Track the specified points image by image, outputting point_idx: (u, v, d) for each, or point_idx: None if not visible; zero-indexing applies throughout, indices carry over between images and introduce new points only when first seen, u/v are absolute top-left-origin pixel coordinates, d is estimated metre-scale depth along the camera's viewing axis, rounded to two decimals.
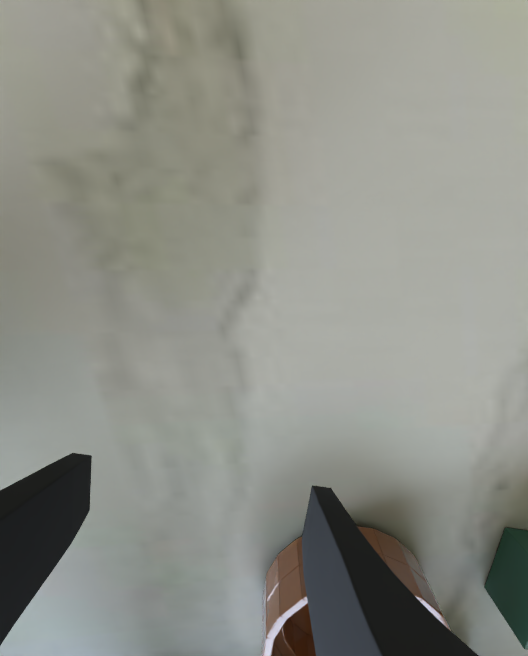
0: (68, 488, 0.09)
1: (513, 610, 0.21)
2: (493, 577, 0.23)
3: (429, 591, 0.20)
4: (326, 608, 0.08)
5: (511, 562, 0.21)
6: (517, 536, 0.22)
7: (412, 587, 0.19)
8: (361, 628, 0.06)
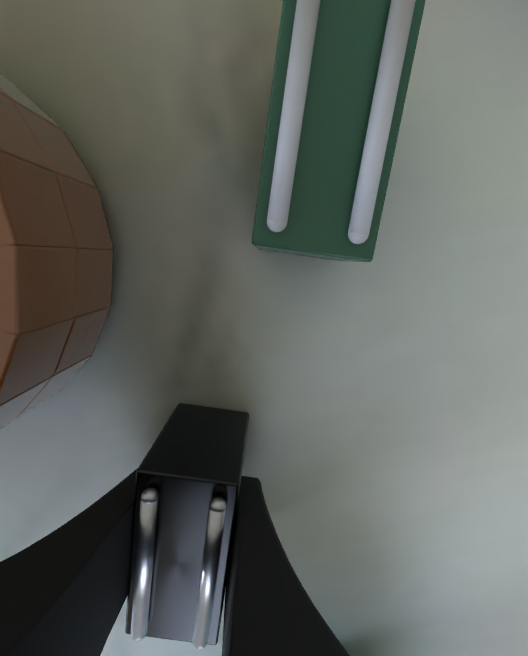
0: None
1: None
2: None
3: None
4: (229, 595, 0.08)
5: None
6: None
7: None
8: (231, 611, 0.06)
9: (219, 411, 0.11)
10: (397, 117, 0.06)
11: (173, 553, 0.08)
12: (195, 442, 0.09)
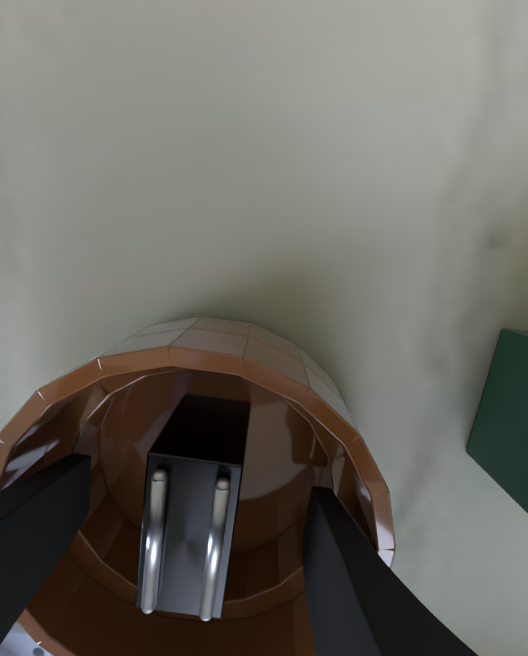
0: (68, 488, 0.09)
1: (518, 464, 0.10)
2: (481, 425, 0.12)
3: (341, 405, 0.09)
4: (326, 608, 0.08)
5: (514, 379, 0.11)
6: (525, 333, 0.11)
7: (292, 373, 0.08)
8: (361, 628, 0.06)
9: (223, 401, 0.12)
10: None
11: (181, 531, 0.09)
12: (201, 428, 0.10)
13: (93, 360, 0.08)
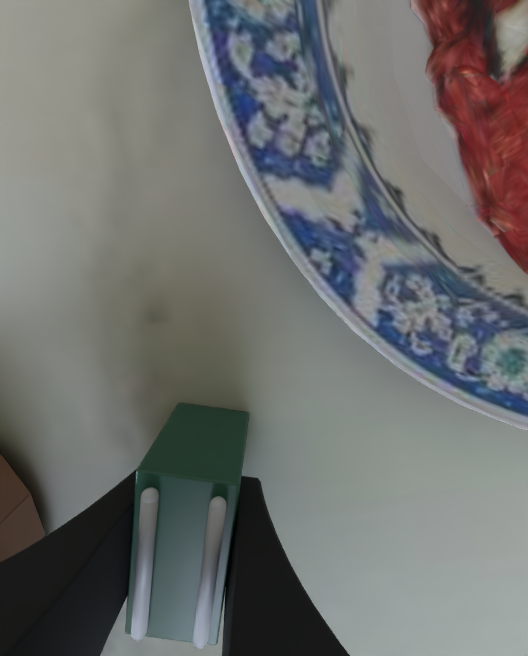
0: None
1: None
2: None
3: None
4: (229, 595, 0.08)
5: None
6: (181, 412, 0.11)
7: None
8: (231, 611, 0.06)
9: None
10: (225, 563, 0.08)
11: None
12: None
13: None
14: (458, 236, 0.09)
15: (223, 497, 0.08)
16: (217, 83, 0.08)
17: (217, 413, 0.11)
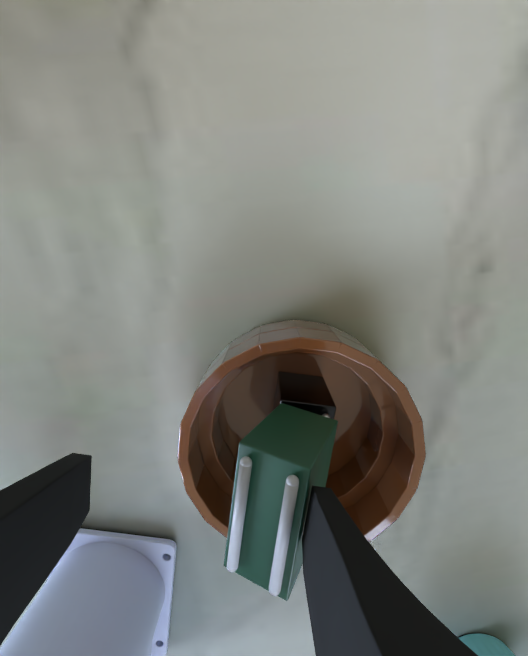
0: (68, 488, 0.09)
1: None
2: None
3: None
4: (326, 608, 0.08)
5: None
6: (280, 410, 0.14)
7: (366, 352, 0.14)
8: (361, 628, 0.06)
9: (305, 375, 0.18)
10: (297, 532, 0.11)
11: None
12: (302, 389, 0.16)
13: (256, 345, 0.14)
14: None
15: (297, 477, 0.10)
16: None
17: (310, 416, 0.13)
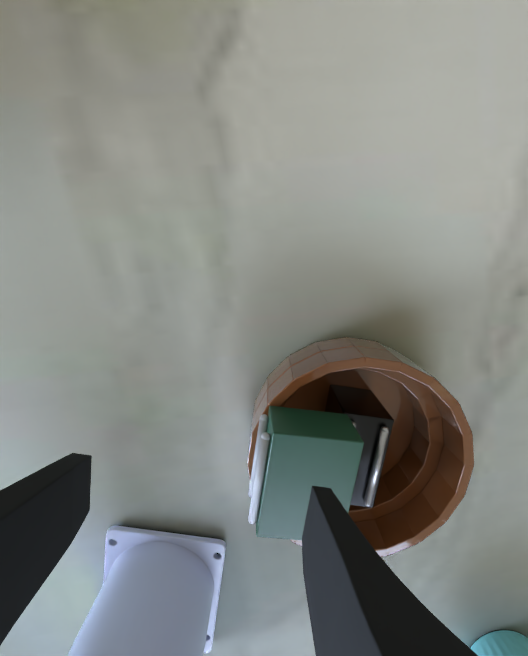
0: (68, 488, 0.09)
1: None
2: None
3: None
4: (326, 608, 0.08)
5: None
6: (333, 414, 0.16)
7: (422, 371, 0.16)
8: (361, 628, 0.06)
9: (355, 388, 0.20)
10: (265, 481, 0.14)
11: None
12: (358, 402, 0.18)
13: (325, 364, 0.15)
14: None
15: (270, 437, 0.14)
16: None
17: (347, 427, 0.15)
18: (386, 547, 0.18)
